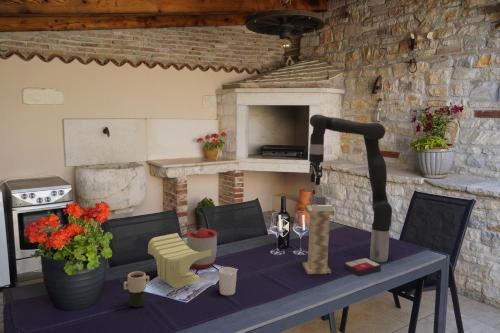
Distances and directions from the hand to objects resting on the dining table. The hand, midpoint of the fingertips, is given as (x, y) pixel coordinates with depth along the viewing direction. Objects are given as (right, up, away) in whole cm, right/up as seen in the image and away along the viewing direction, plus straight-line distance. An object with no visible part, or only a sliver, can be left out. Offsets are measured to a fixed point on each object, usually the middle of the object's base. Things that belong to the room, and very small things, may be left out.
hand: (315, 183), depth 215 cm
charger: (0, -11, -5) cm, 12 cm away
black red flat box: (+23, -45, -6) cm, 51 cm away
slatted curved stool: (-68, -45, -24) cm, 85 cm away
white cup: (-44, -47, -35) cm, 73 cm away
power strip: (+1, -13, -15) cm, 20 cm away
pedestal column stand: (0, -44, -6) cm, 44 cm away
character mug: (-80, -48, -49) cm, 105 cm away
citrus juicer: (-60, -42, -3) cm, 73 cm away
